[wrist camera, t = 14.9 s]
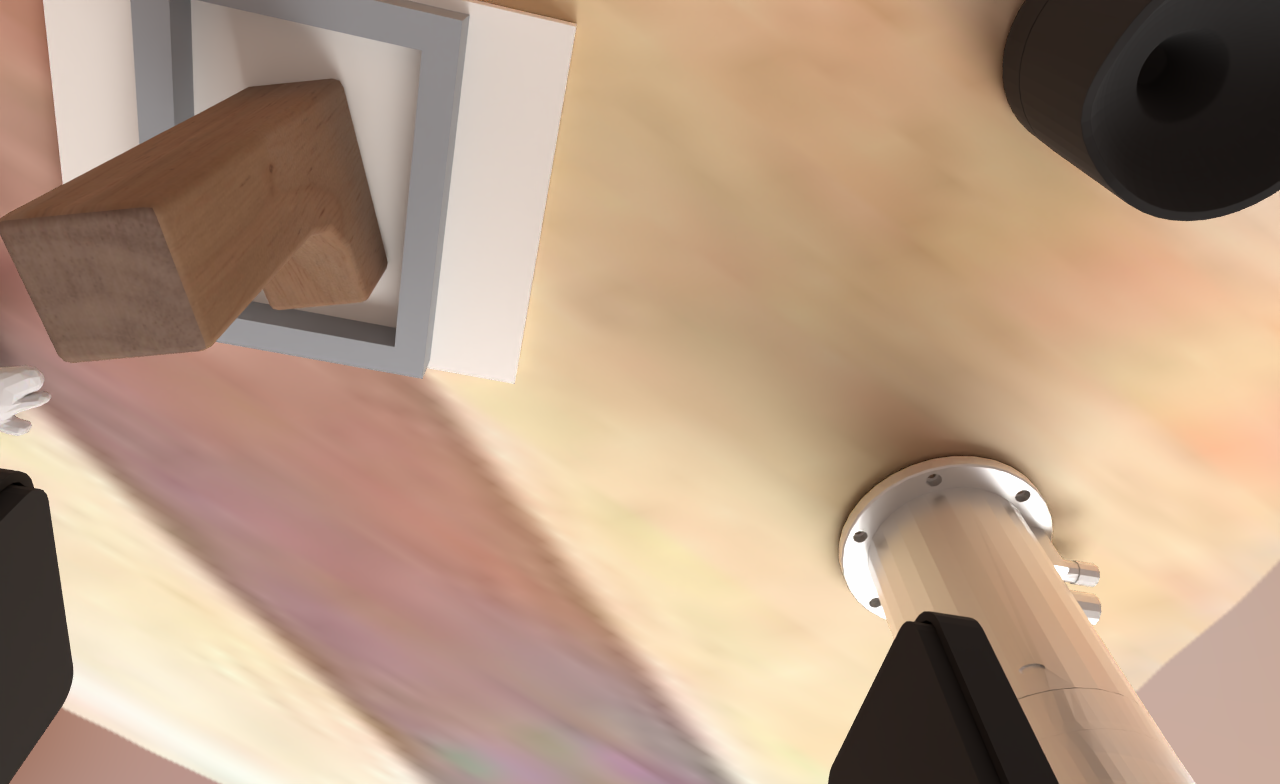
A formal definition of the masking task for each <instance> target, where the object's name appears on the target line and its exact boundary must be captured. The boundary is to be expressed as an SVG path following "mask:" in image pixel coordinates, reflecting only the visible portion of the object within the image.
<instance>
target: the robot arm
mask: <svg viewBox="0 0 1280 784" xmlns="http://www.w3.org/2000/svg"><path fill="white" fill-rule="evenodd" d="M1052 535H1053V526H1052V516H1051V514H1050V511H1049V508H1048V506H1047V503H1046V501H1045V500H1044V498H1043V497H1042V495H1041V494H1040V492H1039V491H1038V489H1037V488H1036V487H1035V486H1034V485H1033V483H1032V482H1031V481H1030V480H1029V479H1028V478H1027V477H1026V476H1025V475H1023V474H1022V473H1020V472H1019V471H1017V470H1016V469H1014V468H1013V467H1011V466H1009V465H1006V464H1003V463H1001V462H998V461H995V460H992V459H987V458H981V457H976V456H950V457H943V458H936V459H931V460H928V461H924V462H921V463H918V464H914V465H911V466H909V467H907V468H905V469H903V470H901V471H898V472H896V473H894V474H892V475H891V476H889V477H888V478H886V479H885V480H883V481H882V482H880V483H879V484H877V485H876V486H875V487H874V488H872V489H871V490H870V491H869V492H868V493H867V494H866V495H865V496H864V497H863V498H862V499H861V500H860V501H859V502H858V504H857V505H856V506H855V508H854V509H853V510H852V512H851V513H850V515H849V517H848V519H847V521H846V523H845V525H844V527H843V529H842V533H841V537H840V541H839V562H840V566H841V570H842V574H843V577H844V579H845V582H846V584H847V587H848V589H849V590H850V592H851V593H852V595H853V596H854V597H855V599H856V600H857V601H858V602H859V603H860V604H861V605H862V606H863V607H864V608H866V609H867V610H868V611H870V612H872V613H874V614H876V615H877V616H879V617H881V618H883V619H886V620H887V623H888V625H889V628H890V631H891V634H892V636H893V639H894V641H893V643H892V646H891V648H890V650H889V652H888V654H887V656H886V658H885V660H884V662H883V664H882V666H881V668H880V670H879V672H878V674H877V676H876V678H875V680H874V682H873V684H872V686H871V688H870V690H869V692H868V694H867V696H866V698H865V700H864V702H863V704H862V706H861V708H860V710H859V712H858V714H857V716H856V718H855V720H854V722H853V724H852V726H851V729H850V731H849V733H848V735H847V737H846V739H845V741H844V743H843V745H842V747H841V749H840V751H839V753H838V755H837V757H836V759H835V761H834V763H833V765H832V767H831V770H830V774H829V781H828V784H1196V783H1195V782H1194V780H1193V779H1192V777H1191V776H1190V774H1189V773H1188V771H1187V770H1186V768H1185V767H1184V766H1183V764H1182V763H1181V761H1180V760H1179V759H1178V757H1177V755H1176V754H1175V752H1174V751H1173V749H1172V748H1171V746H1170V745H1169V743H1168V742H1167V740H1166V739H1165V737H1164V735H1163V734H1162V732H1161V731H1160V729H1159V728H1158V726H1157V725H1156V723H1155V722H1154V720H1153V719H1152V717H1151V716H1150V714H1149V712H1148V711H1147V709H1146V708H1145V706H1144V705H1143V703H1142V702H1141V700H1140V698H1139V697H1138V695H1137V694H1136V692H1135V691H1134V689H1133V688H1132V686H1131V685H1130V683H1129V681H1128V680H1127V678H1126V677H1125V675H1124V674H1123V672H1122V671H1121V669H1120V667H1119V666H1118V664H1117V663H1116V661H1115V660H1114V658H1113V657H1112V655H1111V653H1110V652H1109V650H1108V649H1107V647H1106V646H1105V644H1104V643H1103V641H1102V639H1101V638H1100V636H1099V635H1098V633H1097V632H1096V630H1095V629H1094V627H1093V625H1094V624H1096V623H1097V621H1098V620H1099V618H1100V615H1101V604H1100V601H1099V599H1098V597H1097V596H1096V595H1094V594H1091V593H1085V592H1079V591H1073V590H1069V588H1068V587H1067V585H1066V584H1065V582H1069V583H1071V584H1075V585H1081V586H1088V587H1094V586H1095V585H1096V584H1097V583H1098V581H1099V578H1100V572H1099V569H1098V567H1097V566H1096V565H1095V564H1092V563H1086V562H1080V561H1067V560H1063V558H1062V557H1061V556H1060V555H1059V553H1058V551H1057V550H1056V548H1055V547H1054V545H1053V544H1052ZM72 679H73V663H72V656H71V650H70V643H69V636H68V629H67V623H66V616H65V609H64V602H63V596H62V589H61V582H60V575H59V568H58V562H57V555H56V548H55V541H54V535H53V528H52V521H51V514H50V507H49V501H48V497H47V494H46V493H45V492H44V491H43V490H41V489H36V488H34V486H33V483H32V480H31V478H30V477H29V476H28V475H27V474H26V473H23V472H20V471H14V470H7V469H1V468H0V784H9V783H10V781H11V780H12V778H13V777H14V775H15V774H16V772H17V771H18V769H19V768H20V767H21V765H22V764H23V762H24V761H25V759H26V758H27V756H28V755H29V753H30V752H31V750H32V749H33V748H34V746H35V745H36V743H37V742H38V740H39V739H40V737H41V736H42V735H43V733H44V732H45V730H46V729H47V727H48V726H49V724H50V723H51V721H52V720H53V719H54V717H55V715H56V714H57V713H58V711H59V710H60V708H61V707H62V705H63V704H64V702H65V700H66V698H67V696H68V693H69V691H70V687H71V684H72Z"/></svg>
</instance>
